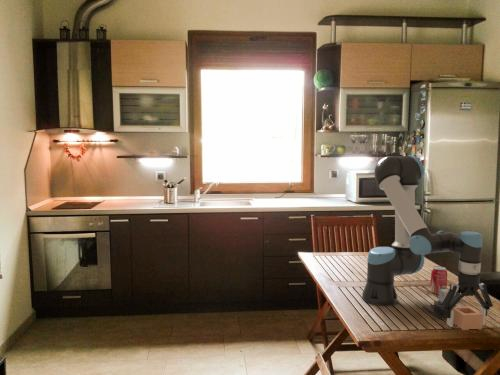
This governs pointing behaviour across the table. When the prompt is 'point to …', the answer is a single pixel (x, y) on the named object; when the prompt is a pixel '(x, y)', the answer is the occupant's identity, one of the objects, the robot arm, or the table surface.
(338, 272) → the table surface
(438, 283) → the soda can
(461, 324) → the collar
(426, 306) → the post stand
